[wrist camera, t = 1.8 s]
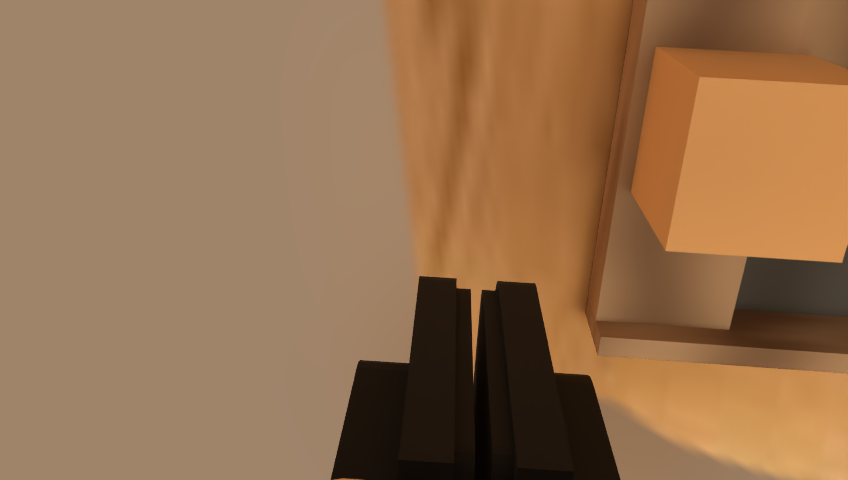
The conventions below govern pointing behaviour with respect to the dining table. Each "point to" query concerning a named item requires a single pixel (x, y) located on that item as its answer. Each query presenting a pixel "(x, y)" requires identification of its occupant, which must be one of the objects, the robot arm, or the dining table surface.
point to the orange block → (745, 154)
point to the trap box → (710, 273)
